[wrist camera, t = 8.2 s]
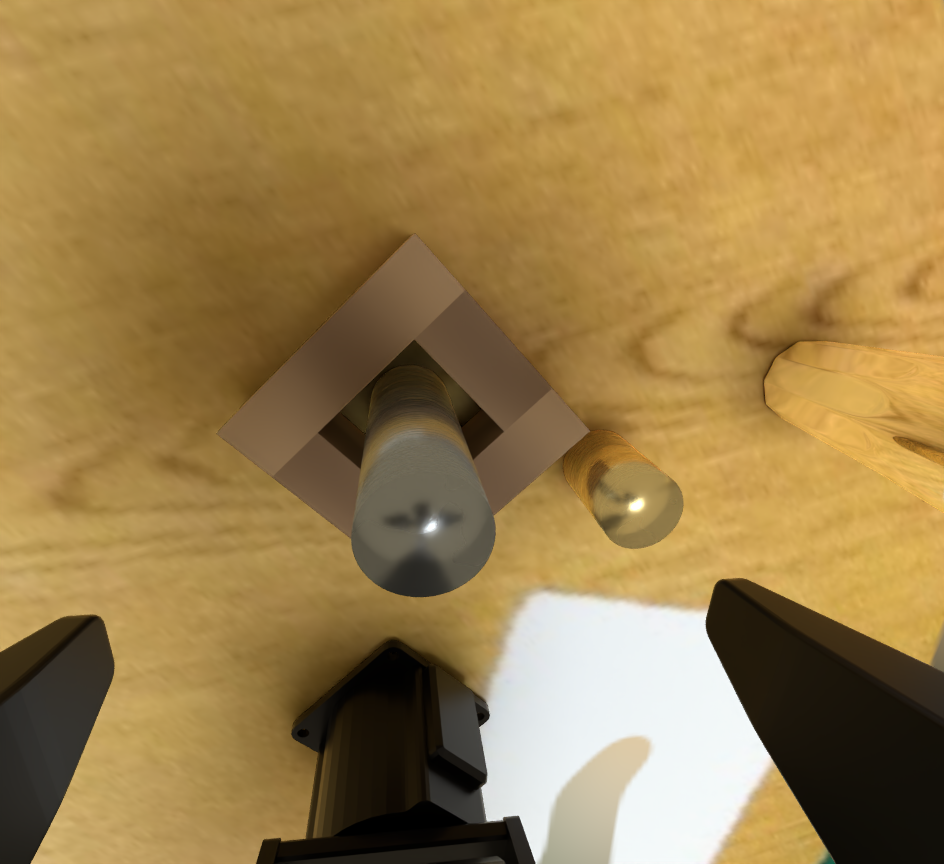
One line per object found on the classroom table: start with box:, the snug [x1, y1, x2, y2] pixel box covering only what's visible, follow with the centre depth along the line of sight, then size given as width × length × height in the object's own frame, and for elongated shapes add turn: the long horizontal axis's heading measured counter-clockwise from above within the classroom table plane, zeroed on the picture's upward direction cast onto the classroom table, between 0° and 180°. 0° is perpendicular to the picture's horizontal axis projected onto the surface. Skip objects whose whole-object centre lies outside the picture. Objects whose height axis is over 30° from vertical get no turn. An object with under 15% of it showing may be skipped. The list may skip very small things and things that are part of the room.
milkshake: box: [764, 341, 944, 513], centre depth 15 cm, size 4×5×10 cm
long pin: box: [351, 365, 496, 597], centre depth 14 cm, size 3×3×9 cm
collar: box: [216, 233, 590, 538], centre depth 17 cm, size 8×8×3 cm
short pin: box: [563, 430, 683, 549], centre depth 18 cm, size 3×3×4 cm
